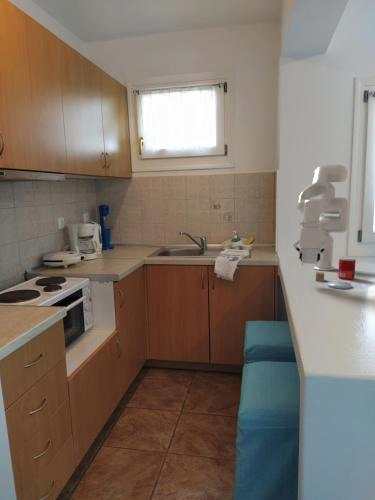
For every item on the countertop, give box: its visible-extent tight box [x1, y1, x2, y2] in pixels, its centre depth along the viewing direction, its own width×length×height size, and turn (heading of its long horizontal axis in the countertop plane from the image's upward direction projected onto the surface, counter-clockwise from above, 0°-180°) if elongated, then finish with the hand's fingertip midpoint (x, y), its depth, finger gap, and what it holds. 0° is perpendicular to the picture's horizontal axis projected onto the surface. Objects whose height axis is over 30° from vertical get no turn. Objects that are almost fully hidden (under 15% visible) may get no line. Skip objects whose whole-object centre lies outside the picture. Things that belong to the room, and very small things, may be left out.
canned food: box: [337, 256, 357, 281], centre depth 194 cm, size 8×8×11 cm
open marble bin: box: [301, 248, 318, 266], centre depth 179 cm, size 7×7×8 cm
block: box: [315, 271, 325, 282], centre depth 191 cm, size 4×4×4 cm
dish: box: [326, 280, 352, 290], centre depth 178 cm, size 11×11×1 cm
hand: (309, 260), depth 180 cm, fingers closed on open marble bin, 7 cm apart
